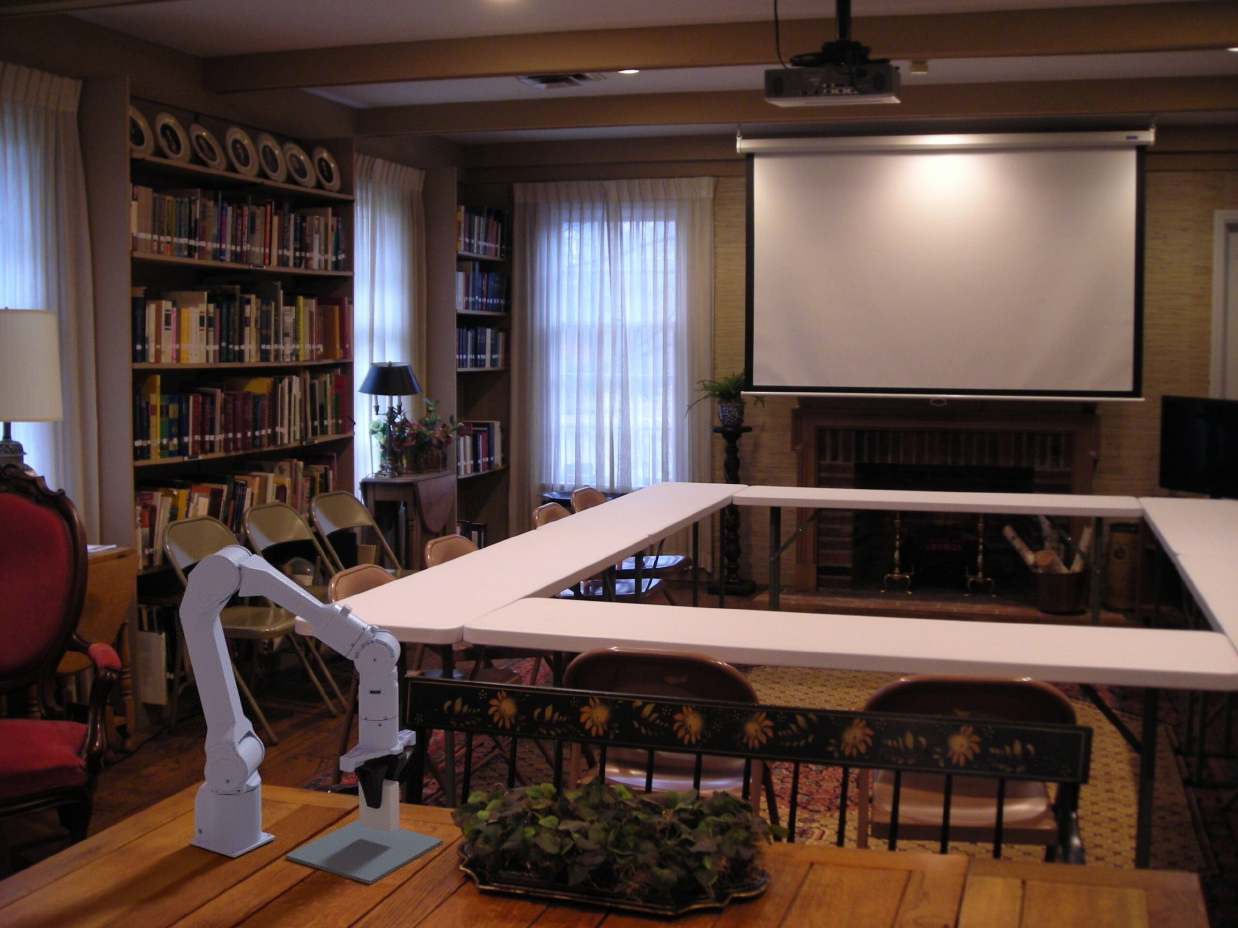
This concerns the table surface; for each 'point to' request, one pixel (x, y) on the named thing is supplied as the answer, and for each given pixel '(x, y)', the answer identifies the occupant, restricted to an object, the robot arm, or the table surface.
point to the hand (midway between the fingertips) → (379, 803)
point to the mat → (364, 851)
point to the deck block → (381, 809)
